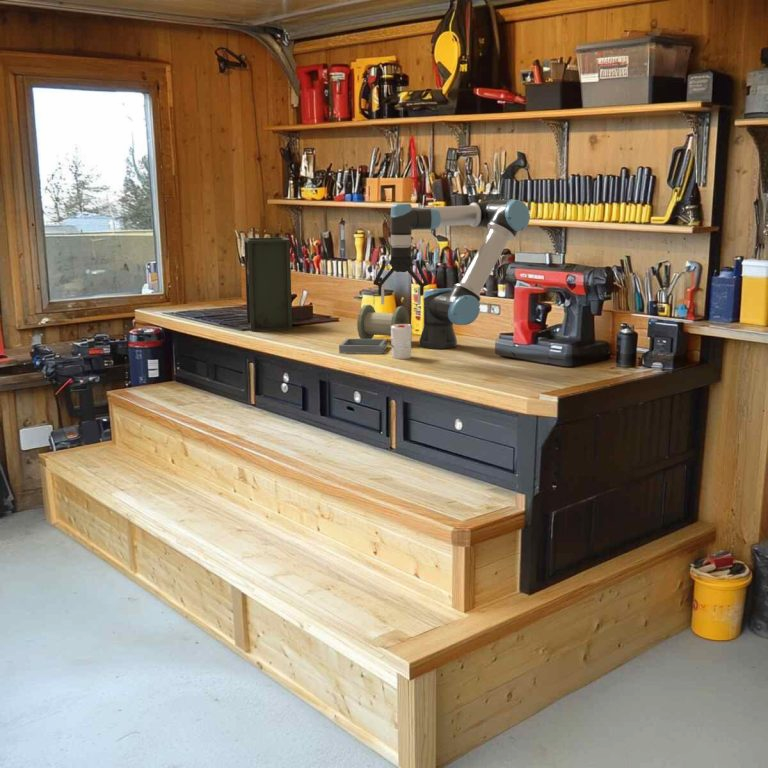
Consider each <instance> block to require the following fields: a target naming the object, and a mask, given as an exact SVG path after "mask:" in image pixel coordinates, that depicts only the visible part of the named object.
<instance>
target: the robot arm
mask: <svg viewBox="0 0 768 768" xmlns="http://www.w3.org/2000/svg"><path fill="white" fill-rule="evenodd" d="M390 207H391V208H390V246H391V248H390V260H386V259H382V261H381V267H380V269H379V270H378V273H377V274H376V276H375V279H374V281H373V285H374V286H377V287H378V289H377V291H378V296H380V299H381V301H380V303H381V305H385V285H384V284H385V282H386V281H387V280H388V279H389V277H390V276H391V275H392V274H393V273H394V272H396V273H406V272H407V273H408V274H409V275H410V276H411V277H412V278H413V280H415V282H416V283H417V284H418V287H417V305H418V306H421V305H422V303H421V300H423V328H422V331H421V334H420V337H419V342H418V343H419V344H418V346H419V347H421V348H425V349H435V350H436V349H437V350H438V349H439V350H441V349H442V350H443V349H444V350H445V349H452V348H455V347H456V348H457V346H458V339H457V335H456V334H455V330H454V325H456V326H467V325H470V324H472V323H474V322H475V321H476V320H477V318H478V317H479V314H480V312H481V311H480V310H481V308H480V307H481V306H480V305H481V304H480V301H481V300H482V299H481V294H480V293H481V291H482V289H483V287H484V285H485V284H486V282H487V280H488V279H489V277H490V275H491V273H492V271H493V270H494V268H495V267H496V264H497V262H498V260H499V258H500V257H501V255H502V253H503V251H504V250H505V247H506V246H507V244H508V243H509V242H510V241H512V240H514V239H515V237H516V236H517V233H518V232H521V231H524V230H525V229H526V228H527V227H528V225H529V223H530V218H531V216H530V210H529V207H528V206H527V204H526V203H525V202H524V201H521V200H519V199H515V198H514V199H490V200H485V201H478V202H477V201H476V202H471V203H469V205H449V206H446V205H445V206H430V207H429V206H428V207H427V206H425V207H423V206H422V207H412V204H411V203H393V204H392V205H391V206H390ZM450 226H451V227H454V226H470V227H472V228H486V229H488V232H487V233H486V235H485V237H484V238H483V241H481V244H480V246H479V248H477V249H478V250H477V251H476V253H475V255H474V257H473V258H472V260H471V262H470V264H469V265H468V268H467V270H466V271H465V272H464V274H463V277H462V279H461V280H460V282H459V283H455V284H454V285H453V287H446V288H434V289H433V288H432V289H431V288H430V289H426V290H424V289H425V287H426V286H428V285H429V283H430V282H429V280H428V278H427V276H426V275H425V274H426V273H425V271H423V268H422V266H421V261H420V259H416V260H413V259H412V247H411V246H412V231H413V230H420V231H421V230H430V231H431V230H436V229H438V228H439V227H450ZM388 265H390V267H391V269H390V270H389V271H388V272H387V273H386V274H385V276H384V277H383V278H381V276H382V275H383V273H384V271H385V268H386V267H387V266H388ZM412 265H414V267H416V269H417V270H418V271H417V272H418V273H419V275H420V277H421V279H420V278H419V277H418V276H417V274H416V273H415V271H414V270H413V269H412V268H411V267H412ZM380 279H381V280H380ZM422 281H423V282H422ZM383 285H384V286H383ZM422 296H423V299H421V297H422Z"/></svg>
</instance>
